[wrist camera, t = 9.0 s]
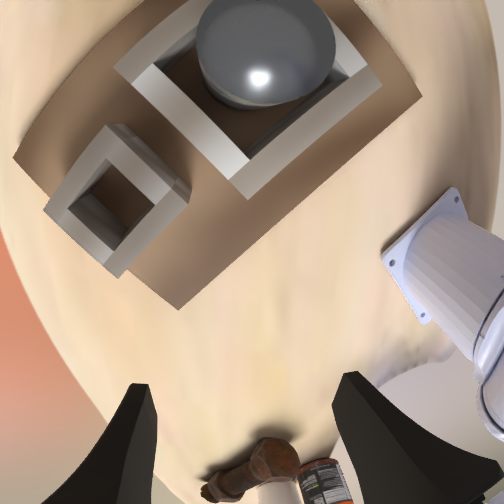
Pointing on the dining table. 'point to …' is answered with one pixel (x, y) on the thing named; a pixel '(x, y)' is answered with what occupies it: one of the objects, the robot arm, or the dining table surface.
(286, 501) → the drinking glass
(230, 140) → the fitting board
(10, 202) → the dining table surface
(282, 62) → the gray metal cylinder
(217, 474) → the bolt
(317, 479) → the supplement bottle
